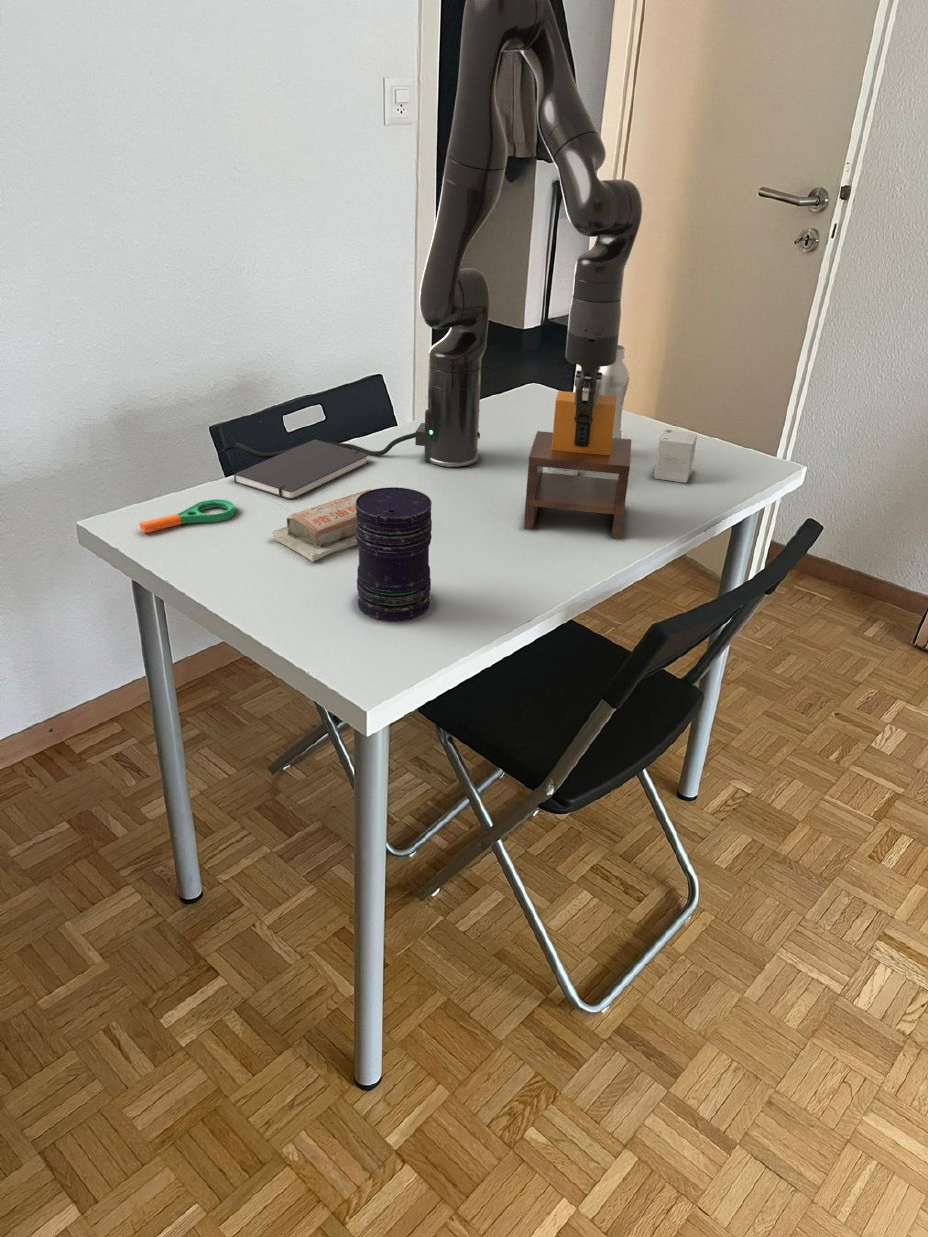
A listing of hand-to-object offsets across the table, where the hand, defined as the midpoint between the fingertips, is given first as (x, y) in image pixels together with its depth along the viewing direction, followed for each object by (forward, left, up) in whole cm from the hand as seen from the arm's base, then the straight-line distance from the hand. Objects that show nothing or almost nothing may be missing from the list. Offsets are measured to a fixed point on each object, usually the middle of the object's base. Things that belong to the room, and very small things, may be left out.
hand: (582, 439), depth 151 cm
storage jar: (-22, -34, -14) cm, 43 cm away
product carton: (+16, +23, -14) cm, 31 cm away
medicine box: (-3, +16, -14) cm, 21 cm away
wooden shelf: (0, 0, -13) cm, 13 cm away
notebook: (-48, +8, -14) cm, 51 cm away
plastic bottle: (+3, +31, -14) cm, 34 cm away
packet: (0, 0, -1) cm, 1 cm away
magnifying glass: (-59, -16, -14) cm, 63 cm away
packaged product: (-35, -15, -14) cm, 40 cm away
